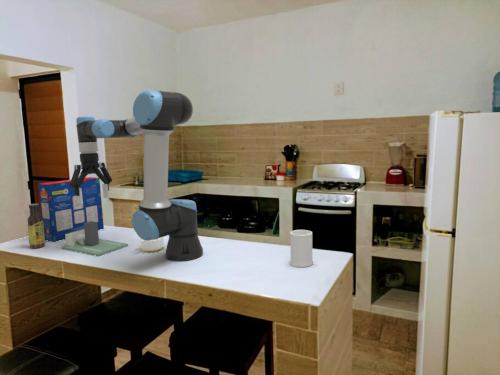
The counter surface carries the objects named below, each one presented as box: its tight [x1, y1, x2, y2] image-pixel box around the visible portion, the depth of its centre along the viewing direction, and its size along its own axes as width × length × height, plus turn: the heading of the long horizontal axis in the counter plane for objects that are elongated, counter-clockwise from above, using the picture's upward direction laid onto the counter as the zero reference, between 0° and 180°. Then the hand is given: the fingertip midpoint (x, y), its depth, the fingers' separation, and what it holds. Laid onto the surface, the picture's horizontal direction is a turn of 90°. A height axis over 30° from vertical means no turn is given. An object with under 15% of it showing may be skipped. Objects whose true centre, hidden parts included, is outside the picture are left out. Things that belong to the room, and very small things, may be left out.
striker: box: [79, 221, 100, 246], centre depth 169 cm, size 7×6×10 cm
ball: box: [77, 234, 85, 242], centre depth 173 cm, size 4×4×4 cm
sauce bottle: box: [27, 203, 46, 249], centre depth 170 cm, size 7×6×20 cm
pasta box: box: [37, 176, 105, 243], centre depth 191 cm, size 28×8×28 cm, turn 148°
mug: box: [289, 229, 314, 268], centre depth 140 cm, size 12×8×12 cm
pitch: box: [60, 229, 129, 257], centre depth 168 cm, size 25×16×6 cm, turn 60°
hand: (93, 200), depth 166 cm, fingers open, 13 cm apart
